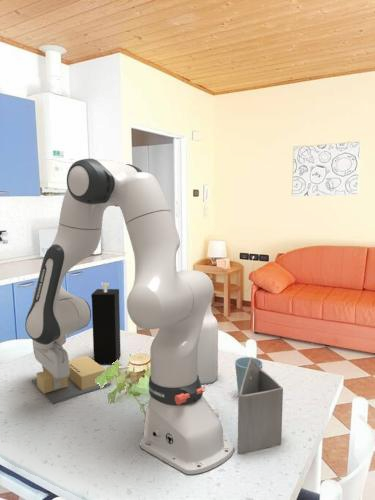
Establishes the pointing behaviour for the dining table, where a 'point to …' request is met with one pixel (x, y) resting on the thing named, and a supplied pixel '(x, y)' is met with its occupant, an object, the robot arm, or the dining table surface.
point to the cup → (243, 369)
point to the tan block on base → (77, 380)
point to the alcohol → (208, 349)
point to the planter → (259, 410)
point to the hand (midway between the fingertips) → (52, 382)
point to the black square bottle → (106, 324)
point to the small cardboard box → (48, 382)
